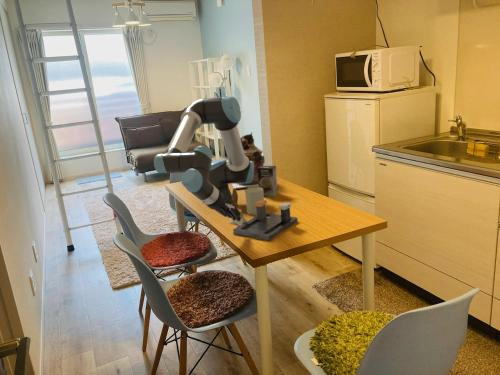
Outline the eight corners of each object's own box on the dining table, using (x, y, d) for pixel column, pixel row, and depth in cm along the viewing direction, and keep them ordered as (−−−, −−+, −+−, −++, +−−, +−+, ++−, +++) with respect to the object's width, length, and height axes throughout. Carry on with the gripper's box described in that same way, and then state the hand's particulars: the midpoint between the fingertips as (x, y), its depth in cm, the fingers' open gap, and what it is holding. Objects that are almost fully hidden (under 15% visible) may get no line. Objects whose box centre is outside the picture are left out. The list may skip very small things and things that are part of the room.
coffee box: (259, 195, 226) (256, 167, 221) (262, 192, 231) (260, 165, 227) (274, 196, 222) (272, 168, 218) (277, 192, 228) (276, 165, 223)
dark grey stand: (233, 233, 174) (231, 212, 172) (263, 215, 193) (262, 196, 190) (268, 241, 164) (267, 218, 161) (297, 221, 182) (296, 201, 179)
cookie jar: (230, 180, 264) (225, 132, 255) (267, 176, 266) (263, 128, 257) (233, 190, 240) (228, 137, 231) (273, 186, 242) (270, 133, 234)
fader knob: (256, 220, 183) (254, 202, 181) (262, 217, 187) (260, 199, 185) (262, 221, 182) (260, 203, 179) (267, 218, 185) (266, 200, 183)
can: (267, 208, 203) (265, 186, 200) (261, 215, 194) (260, 191, 191) (250, 208, 206) (248, 185, 203) (244, 214, 198) (242, 191, 194)
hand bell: (235, 226, 183) (232, 192, 179) (225, 221, 190) (222, 189, 185) (250, 221, 188) (247, 188, 183) (240, 217, 194) (237, 185, 190)
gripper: (195, 203, 156) (226, 228, 174) (220, 207, 149) (250, 232, 166) (202, 186, 159) (232, 212, 176) (228, 189, 151) (256, 216, 169)
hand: (241, 222), depth 171 cm, fingers closed
